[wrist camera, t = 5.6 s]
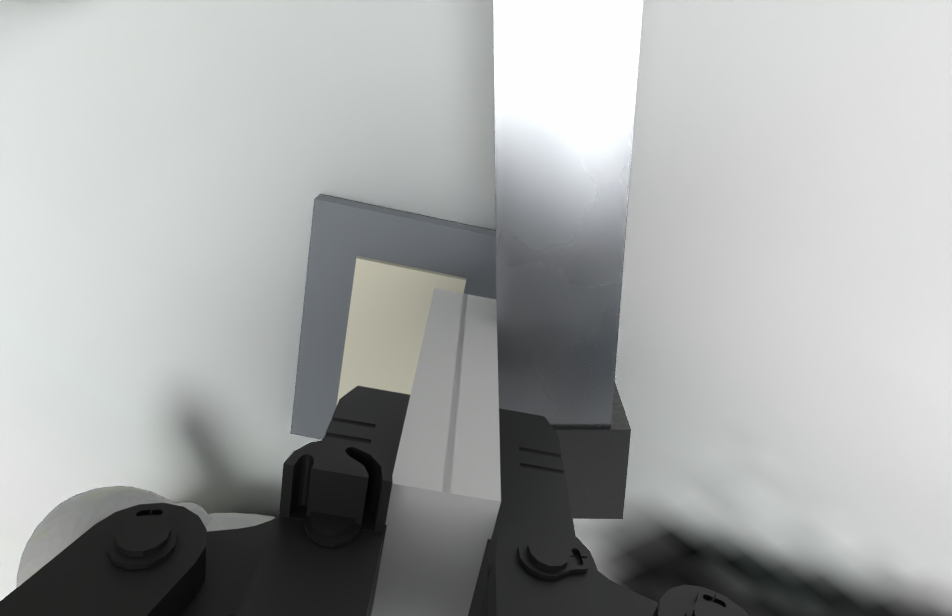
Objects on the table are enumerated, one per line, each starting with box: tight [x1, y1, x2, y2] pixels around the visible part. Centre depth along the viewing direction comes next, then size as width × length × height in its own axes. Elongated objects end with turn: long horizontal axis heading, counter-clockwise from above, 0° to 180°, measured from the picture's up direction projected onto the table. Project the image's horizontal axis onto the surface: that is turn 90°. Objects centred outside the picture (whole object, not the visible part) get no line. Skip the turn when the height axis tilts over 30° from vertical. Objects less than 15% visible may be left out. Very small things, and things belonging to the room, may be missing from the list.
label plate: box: [291, 194, 497, 440], centre depth 19 cm, size 8×6×1 cm
